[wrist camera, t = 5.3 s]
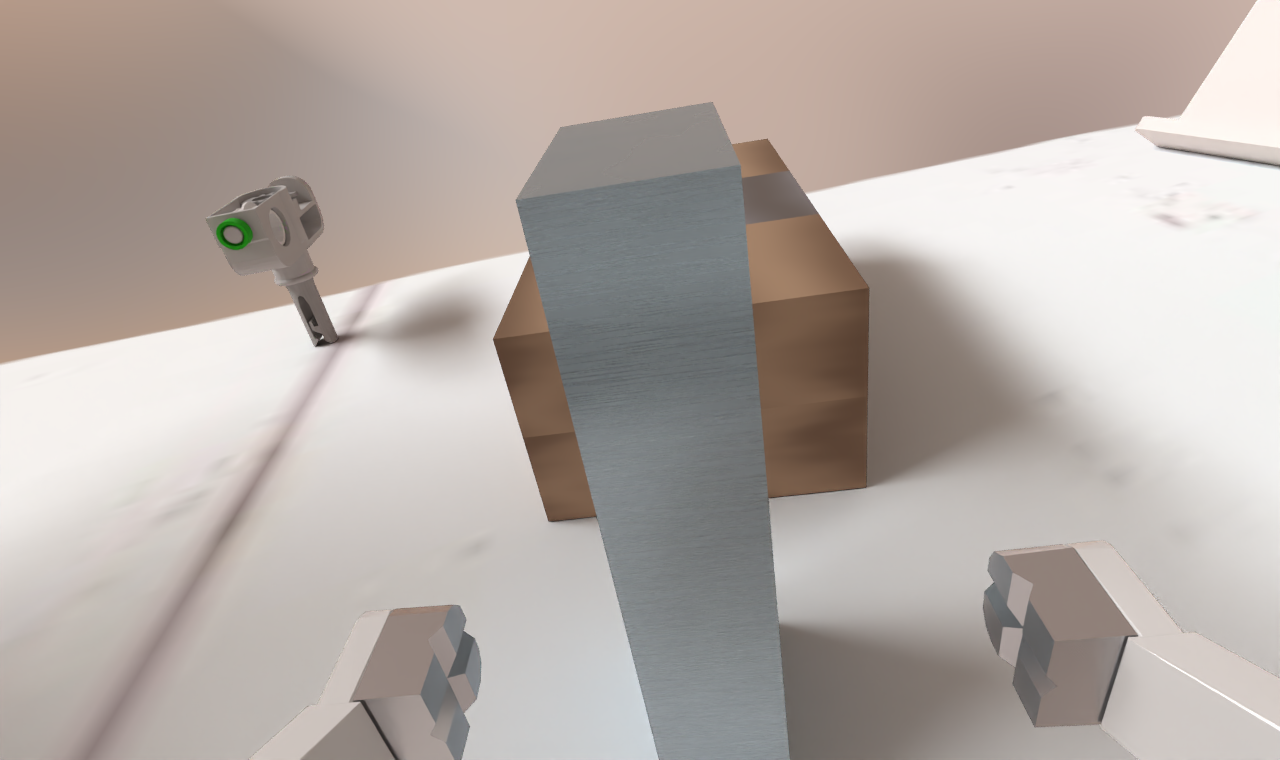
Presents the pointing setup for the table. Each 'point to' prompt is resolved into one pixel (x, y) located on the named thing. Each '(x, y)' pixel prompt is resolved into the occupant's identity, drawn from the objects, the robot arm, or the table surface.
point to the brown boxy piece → (785, 349)
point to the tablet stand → (1233, 98)
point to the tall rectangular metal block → (668, 412)
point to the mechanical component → (277, 243)
